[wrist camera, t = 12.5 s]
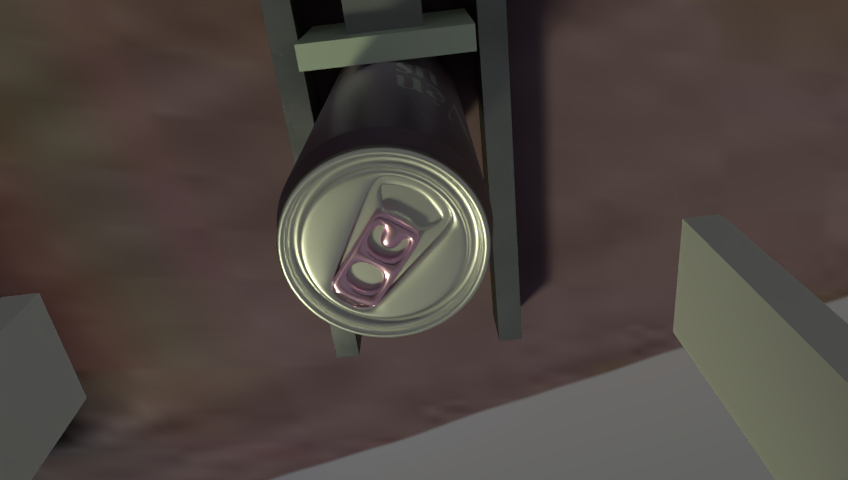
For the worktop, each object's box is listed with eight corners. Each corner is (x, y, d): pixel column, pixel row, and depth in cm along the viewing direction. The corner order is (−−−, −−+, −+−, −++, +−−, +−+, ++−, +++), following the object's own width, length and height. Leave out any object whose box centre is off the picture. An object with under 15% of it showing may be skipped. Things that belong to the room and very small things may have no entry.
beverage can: (311, 125, 30) (231, 285, 16) (371, 13, 28) (335, 93, 14) (417, 184, 31) (422, 375, 18) (482, 82, 29) (544, 214, 16)
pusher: (316, 49, 28) (299, 71, 23) (302, -33, 26) (280, -25, 22) (466, 31, 28) (477, 51, 23) (459, -52, 26) (470, -48, 22)
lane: (341, 330, 35) (329, 402, 30) (243, -144, 25) (197, -165, 19) (514, 312, 35) (533, 381, 29) (489, -176, 24) (511, -205, 19)
